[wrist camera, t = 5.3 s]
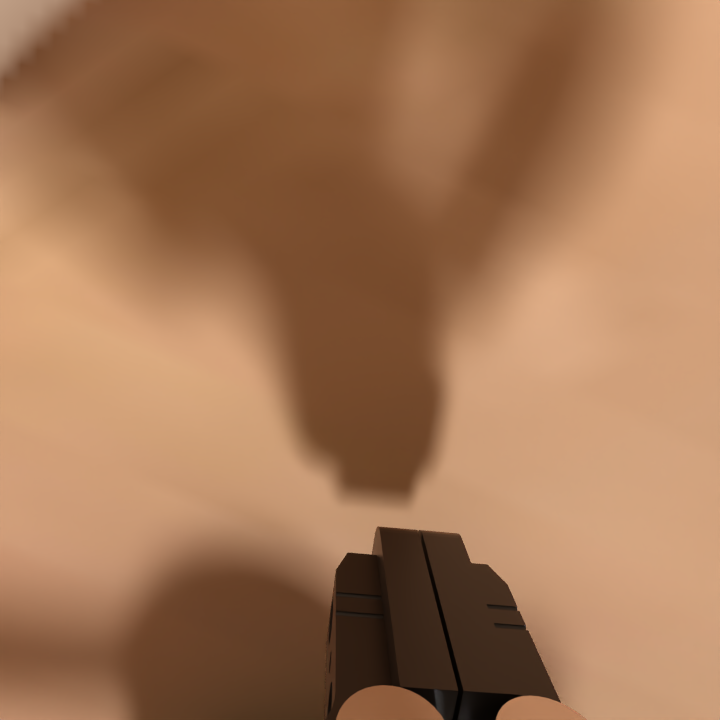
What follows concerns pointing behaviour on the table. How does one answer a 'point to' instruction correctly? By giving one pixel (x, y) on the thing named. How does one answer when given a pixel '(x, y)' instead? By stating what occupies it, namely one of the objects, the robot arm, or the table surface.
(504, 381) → the table surface
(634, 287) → the table surface
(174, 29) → the table surface
